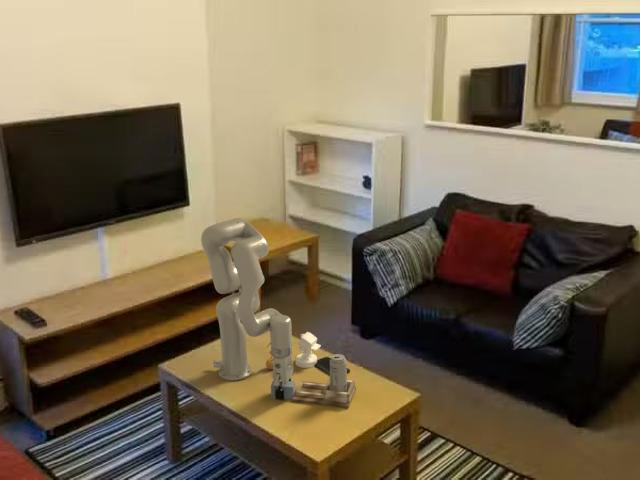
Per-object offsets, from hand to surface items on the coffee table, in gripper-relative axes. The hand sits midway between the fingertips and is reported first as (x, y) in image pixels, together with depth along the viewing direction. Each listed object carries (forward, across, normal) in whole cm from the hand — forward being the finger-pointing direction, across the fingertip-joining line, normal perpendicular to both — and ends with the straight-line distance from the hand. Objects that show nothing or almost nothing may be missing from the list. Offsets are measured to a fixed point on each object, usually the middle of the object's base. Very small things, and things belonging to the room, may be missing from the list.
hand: (283, 393), depth 255 cm
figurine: (+1, +19, +10) cm, 22 cm away
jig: (+1, +4, -14) cm, 15 cm away
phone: (+2, +24, -12) cm, 27 cm away
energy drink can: (0, +4, -20) cm, 20 cm away
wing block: (+1, 0, 0) cm, 1 cm away
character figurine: (+1, +26, -2) cm, 26 cm away
